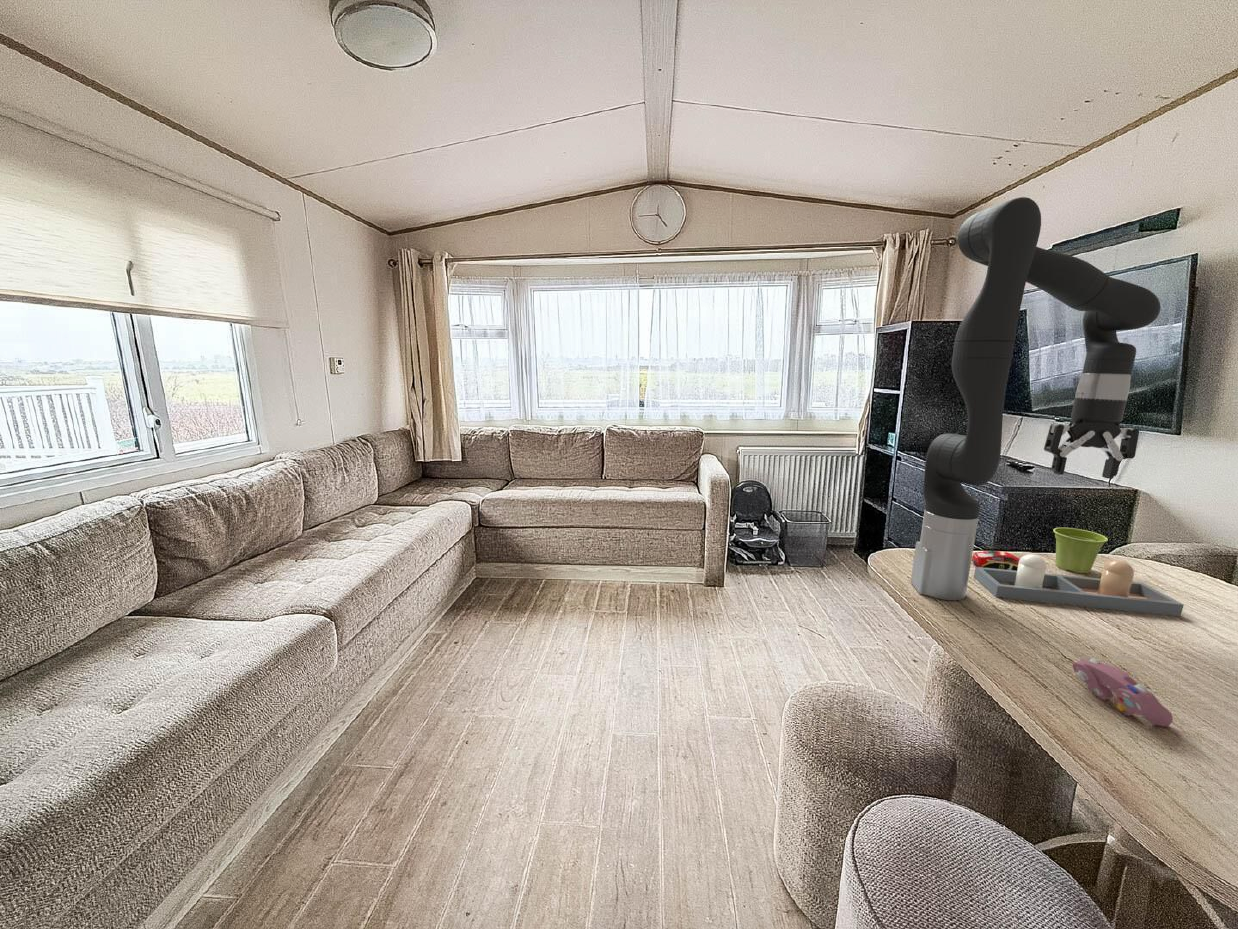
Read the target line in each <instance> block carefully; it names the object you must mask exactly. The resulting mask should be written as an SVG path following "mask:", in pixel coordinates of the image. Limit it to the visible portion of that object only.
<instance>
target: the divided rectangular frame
mask: <svg viewBox="0 0 1238 929" xmlns="http://www.w3.org/2000/svg"><path fill="white" fill-rule="evenodd" d="M1016 575H1017V571H1014V570H1004V569H993V568H983V567H979V566H975V568H974V574H973V578H974V580H976V581H977V582H978V583H979V584H981V586H983V588H985V589H986V590H987V589H988V590H989V592H990V593H991V594H992V595H993V596H994V597H995V598H1000V597H1003V598H1002V599H1009V598H1010V599H1011V600H1019V601H1030V602H1038V601H1040V603H1050V604H1056V605H1067V606H1068V605H1069V606H1078V607H1085V608H1086V607H1087V608H1094V609H1105V610H1114V611H1122V612H1123V611H1124V612H1133V613H1143V614H1151V613H1152V615H1160V614H1161V615H1162V616H1169V615H1171V616H1170V617H1179V616H1180V617H1179V618H1181V616H1182V613H1183V608H1184V604H1183V603H1181V602H1180V601H1177V600H1176V599H1174V598H1172V597H1171V596H1169V595H1167V594H1164V593H1163V592H1161V591H1159V590H1157V589H1155V588H1153V587H1152V586H1150V585H1149V584H1146V583H1144V582H1140V581H1139V582H1138V581H1132V584H1131V589H1130V593H1129V597H1122V596H1112V595H1102V594H1098V589H1099V585H1100V580H1101V578H1099V577H1098V578H1097V577H1096V578H1095V577H1085V576H1075V575H1067V574H1066V575H1063V574H1055V573H1054V574H1053V573H1046V572H1045V575H1044V580H1043V585H1042V588H1032V587H1022V586H1014V584H1015V580H1016ZM1000 582H1002V583H1012V584H1013V585H1010V584H1002V583H1000ZM1043 587H1052V588H1055V589H1050V588H1043ZM988 590H987V591H988Z"/></svg>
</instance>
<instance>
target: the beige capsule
mask: <svg viewBox="0 0 1238 929" xmlns="http://www.w3.org/2000/svg"><path fill="white" fill-rule="evenodd" d="M1102 568H1103V569H1102V573H1101V576H1100V579H1101V580H1100V585H1099V589H1098V594H1102V595H1112V596H1122V597H1129V593H1130V589H1131V584H1132V582H1133V580H1134V576H1135V570H1134V568H1133V567H1132V565H1130V564H1129V563H1128V562H1127V561H1123V560H1119V559H1113V560H1110V561H1107V562H1106V563H1105V564H1104V565H1103V567H1102Z"/></svg>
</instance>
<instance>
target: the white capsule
mask: <svg viewBox="0 0 1238 929" xmlns="http://www.w3.org/2000/svg"><path fill="white" fill-rule="evenodd" d="M1020 558H1021V559H1020V560H1019V564H1018V569H1017V575H1016V580H1015V583H1014V584H1013V586H1022V587H1032V588H1042V589H1043V586H1042V585H1043V580H1044V575H1045V573H1046V569H1047V563H1046V561H1045V559H1043V558H1042V557H1041V556H1039V555H1037V554H1034V553H1032V554H1031V553H1030V554H1029V553H1028V554H1025V555H1023V556H1021V557H1020Z"/></svg>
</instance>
